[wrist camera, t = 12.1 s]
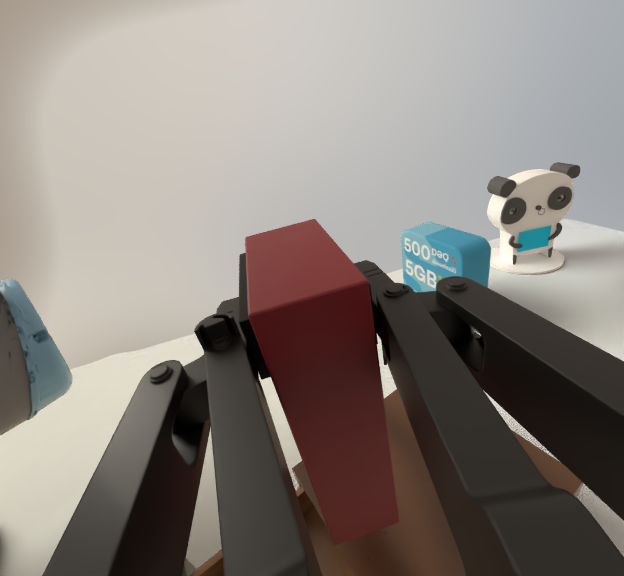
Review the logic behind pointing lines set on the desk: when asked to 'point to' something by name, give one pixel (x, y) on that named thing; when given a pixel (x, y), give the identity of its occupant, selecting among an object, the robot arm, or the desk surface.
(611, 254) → the desk surface
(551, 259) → the panda figurine
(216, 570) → the drawer
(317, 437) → the card box
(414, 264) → the data package
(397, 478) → the box
